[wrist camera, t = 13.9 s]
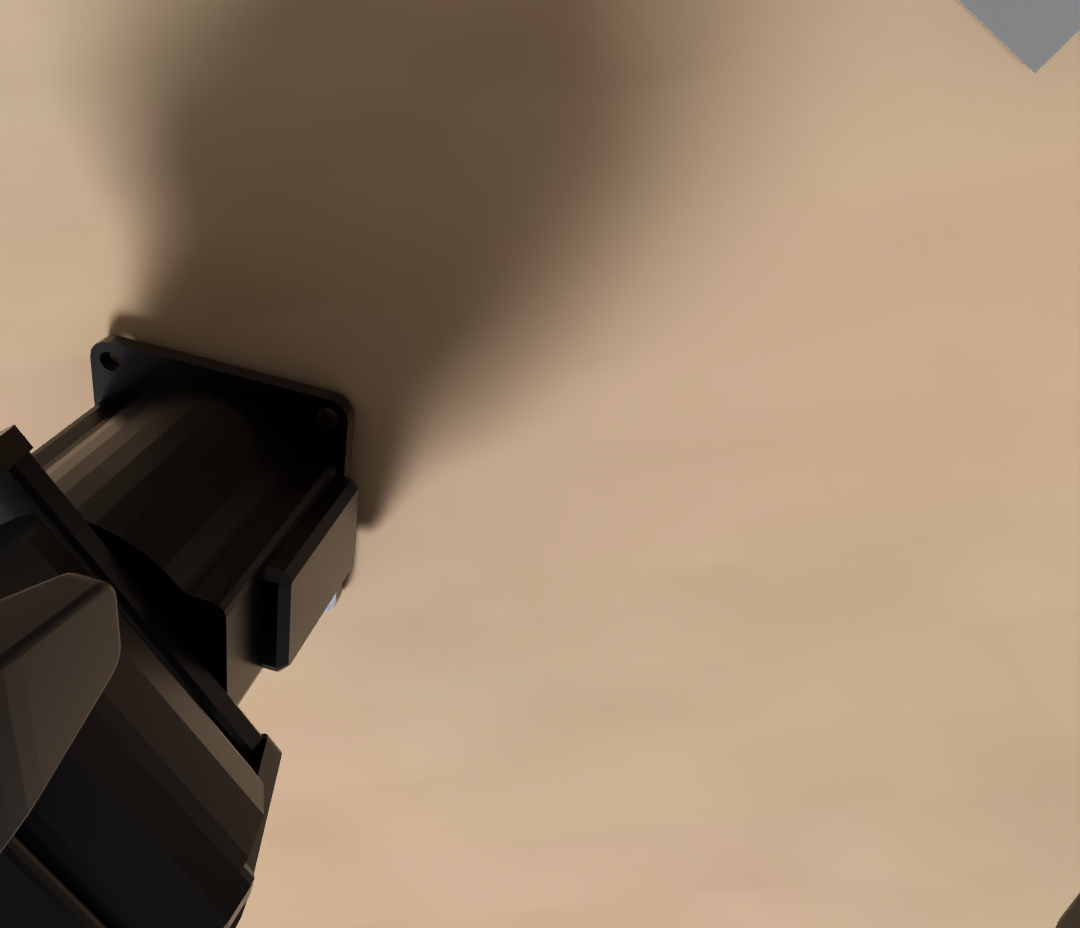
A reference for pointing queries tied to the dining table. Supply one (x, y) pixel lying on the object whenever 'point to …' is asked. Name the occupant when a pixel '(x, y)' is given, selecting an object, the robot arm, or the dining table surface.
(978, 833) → the dining table surface
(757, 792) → the dining table surface
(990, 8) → the carrier plate
